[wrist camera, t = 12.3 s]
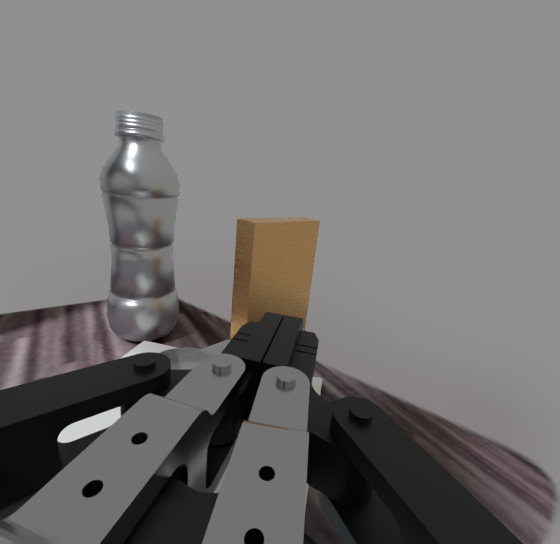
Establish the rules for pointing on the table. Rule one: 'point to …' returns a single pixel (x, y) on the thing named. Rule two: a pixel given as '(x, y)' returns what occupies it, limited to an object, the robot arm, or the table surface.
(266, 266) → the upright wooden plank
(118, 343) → the table surface
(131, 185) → the plastic bottle
